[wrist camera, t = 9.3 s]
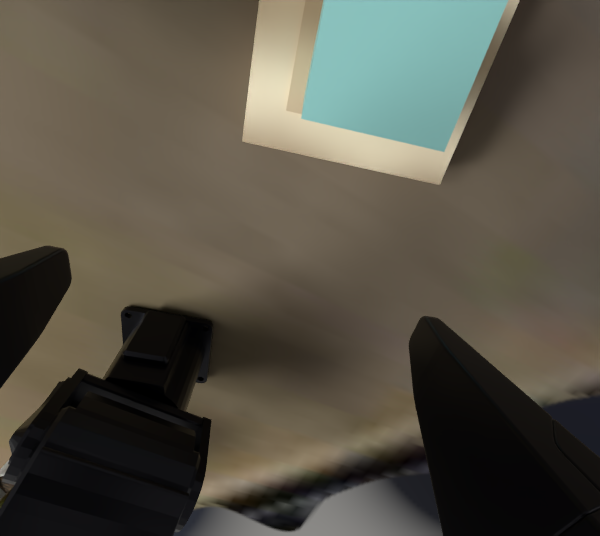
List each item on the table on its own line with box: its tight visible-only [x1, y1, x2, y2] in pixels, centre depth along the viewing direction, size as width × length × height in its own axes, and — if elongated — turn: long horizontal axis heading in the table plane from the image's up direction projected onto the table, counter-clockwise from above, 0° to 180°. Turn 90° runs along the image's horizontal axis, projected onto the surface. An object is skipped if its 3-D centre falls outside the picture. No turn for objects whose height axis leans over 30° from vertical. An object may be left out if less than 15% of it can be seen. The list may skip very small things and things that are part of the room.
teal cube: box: [301, 0, 508, 152], centre depth 13 cm, size 5×5×5 cm
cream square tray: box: [242, 0, 520, 185], centre depth 16 cm, size 10×10×3 cm
